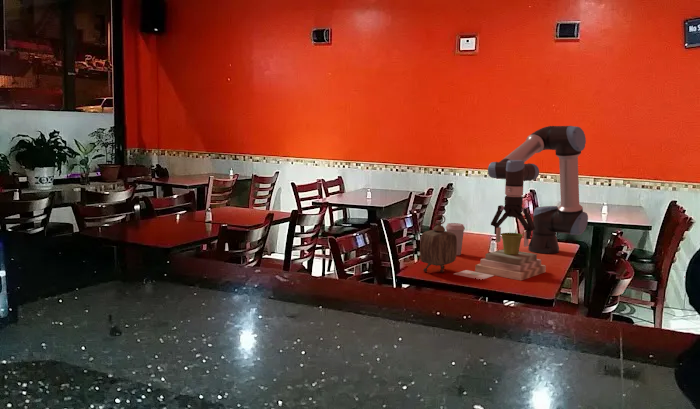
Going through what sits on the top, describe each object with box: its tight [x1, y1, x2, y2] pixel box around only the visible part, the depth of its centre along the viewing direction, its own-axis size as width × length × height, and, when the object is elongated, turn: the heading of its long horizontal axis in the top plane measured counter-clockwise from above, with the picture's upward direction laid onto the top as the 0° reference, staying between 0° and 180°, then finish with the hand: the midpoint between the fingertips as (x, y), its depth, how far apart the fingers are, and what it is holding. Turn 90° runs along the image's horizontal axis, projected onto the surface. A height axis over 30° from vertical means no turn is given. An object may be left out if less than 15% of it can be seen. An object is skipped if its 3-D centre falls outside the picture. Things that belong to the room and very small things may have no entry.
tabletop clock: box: [419, 214, 457, 273], centre depth 271 cm, size 14×9×25 cm, turn 127°
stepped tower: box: [474, 248, 547, 281], centre depth 274 cm, size 22×22×8 cm
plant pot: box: [501, 232, 524, 255], centre depth 273 cm, size 9×9×9 cm
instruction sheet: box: [453, 269, 495, 281], centre depth 268 cm, size 10×14×1 cm
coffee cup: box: [445, 222, 466, 256], centre depth 310 cm, size 10×10×15 cm
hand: (511, 244), depth 273 cm, fingers open, 13 cm apart
